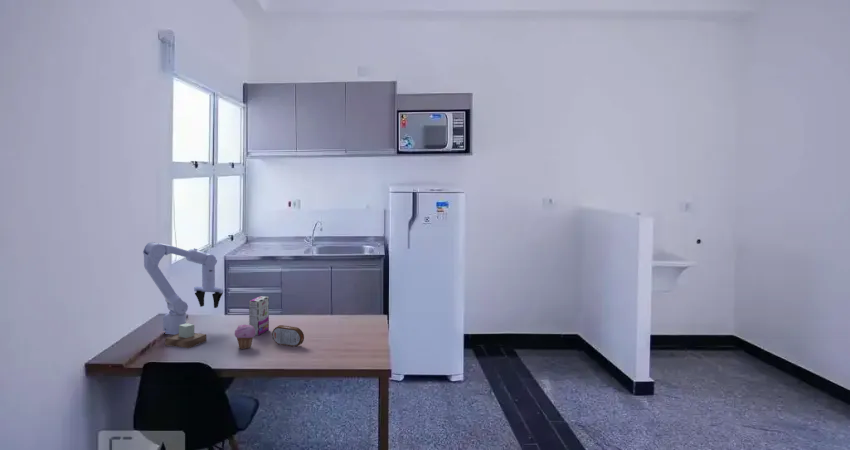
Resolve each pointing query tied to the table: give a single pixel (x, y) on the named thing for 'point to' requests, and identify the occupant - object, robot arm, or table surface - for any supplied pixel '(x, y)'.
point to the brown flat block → (185, 340)
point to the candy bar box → (259, 314)
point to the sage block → (186, 330)
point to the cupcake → (245, 335)
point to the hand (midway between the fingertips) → (208, 306)
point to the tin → (288, 335)
